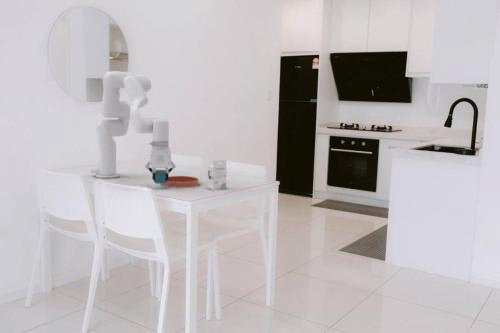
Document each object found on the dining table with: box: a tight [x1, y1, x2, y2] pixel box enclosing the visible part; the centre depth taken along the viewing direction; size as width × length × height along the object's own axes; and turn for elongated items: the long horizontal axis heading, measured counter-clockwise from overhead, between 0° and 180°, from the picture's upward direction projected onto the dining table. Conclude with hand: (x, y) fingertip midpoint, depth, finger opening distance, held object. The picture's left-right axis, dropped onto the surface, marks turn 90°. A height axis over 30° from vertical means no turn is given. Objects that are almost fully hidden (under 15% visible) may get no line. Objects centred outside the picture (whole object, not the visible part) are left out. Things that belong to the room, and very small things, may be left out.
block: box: [154, 169, 166, 185], centre depth 231 cm, size 5×5×6 cm
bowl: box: [161, 175, 200, 188], centre depth 246 cm, size 19×19×3 cm
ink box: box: [206, 159, 227, 190], centre depth 238 cm, size 9×5×15 cm, turn 131°
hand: (160, 180), depth 232 cm, fingers closed on block, 5 cm apart
